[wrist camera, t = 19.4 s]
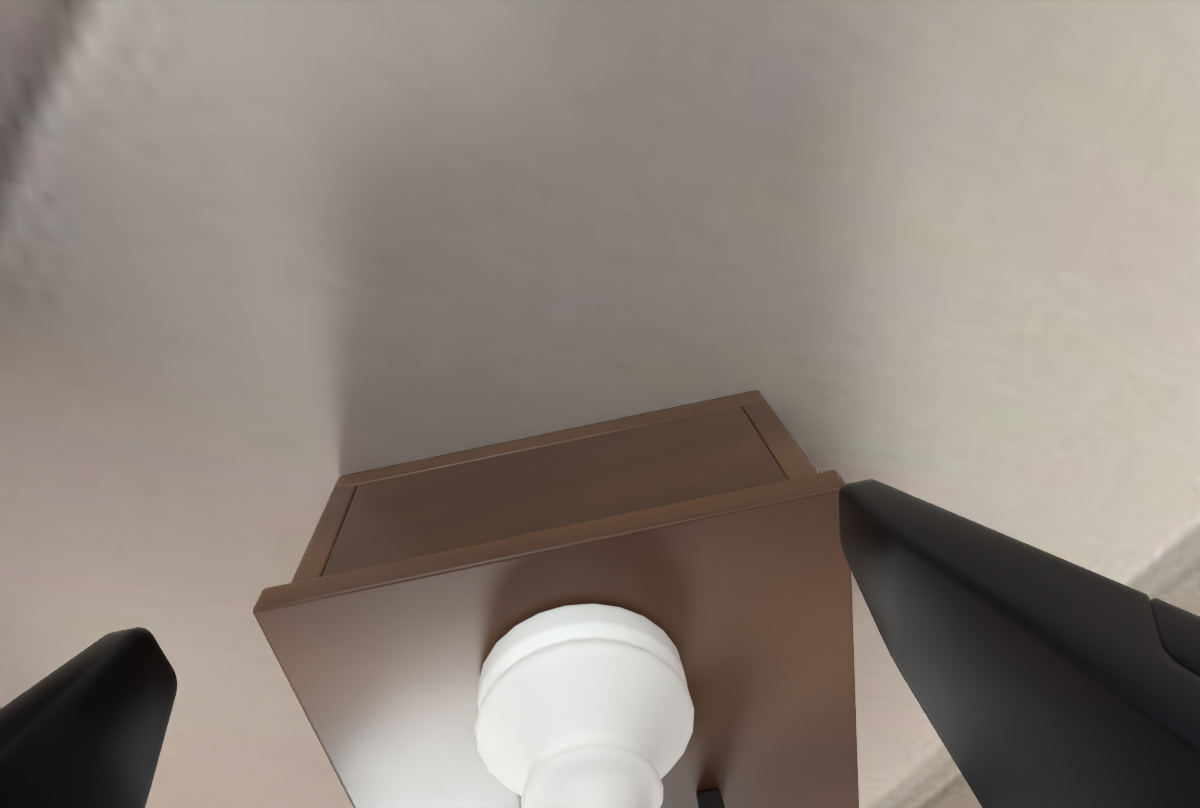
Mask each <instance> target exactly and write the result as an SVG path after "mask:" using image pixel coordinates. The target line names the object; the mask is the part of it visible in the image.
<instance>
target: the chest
mask: <svg viewBox="0 0 1200 808" xmlns="http://www.w3.org/2000/svg"><path fill="white" fill-rule="evenodd" d="M813 474H818V472H817V471H816V469H815V468H814V467H813V465H812V464H811V463H810V461H809V460H808V458H807V457H806V456H805V454H804V453H803V451H802V450H801V449H800V447H799V446H798V445H797V443H796V442H795V440H794V439H793V438H792V436H791V435H790V434H789V432H788V431H787V429H786V428H785V427H784V425H783V424H782V422H781V421H780V420H779V418H778V417H777V416H776V414H775V413H774V411H773V410H772V409H771V407H770V406H769V404H768V403H767V402H766V401H765V399H764V398H763V396H762V395H761V394H760V392H759V391H751V392H746V393H741V394H737V395H732V396H727V397H722V398H717V399H712V400H708V401H703V402H698V403H693V404H688V405H683V406H679V407H674V408H669V409H664V410H659V411H654V412H650V413H645V414H640V415H635V416H630V417H625V418H621V419H616V420H611V421H606V422H601V423H596V424H592V425H587V426H582V427H577V428H572V429H567V430H563V431H558V432H553V433H548V434H543V435H538V436H534V437H529V438H524V439H519V440H514V441H510V442H505V443H500V444H495V445H490V446H485V447H481V448H476V449H471V450H466V451H461V452H456V453H452V454H447V455H442V456H437V457H432V458H427V459H423V460H418V461H413V462H408V463H403V464H398V465H394V466H389V467H384V468H379V469H374V470H369V471H365V472H360V473H355V474H350V475H345V476H341V477H339V478H338V480H337V482H336V485H335V487H334V491H333V492H332V494H331V496H330V498H329V500H328V502H327V505H326V507H325V509H324V511H323V513H322V516H321V518H320V520H319V522H318V524H317V527H316V529H315V531H314V533H313V536H312V538H311V540H310V542H309V544H308V547H307V549H306V551H305V553H304V555H303V558H302V560H301V562H300V564H299V566H298V569H297V571H296V573H295V575H294V578H293V580H292V582H291V583H294V582H299V581H304V580H308V579H313V578H318V577H323V576H328V575H332V574H337V573H342V572H347V571H352V570H356V569H361V568H366V567H371V566H376V565H380V564H385V563H390V562H395V561H400V560H404V559H409V558H414V557H419V556H424V555H428V554H433V553H438V552H443V551H448V550H453V549H457V548H462V547H467V546H472V545H477V544H481V543H486V542H491V541H496V540H501V539H505V538H510V537H515V536H520V535H525V534H529V533H534V532H539V531H544V530H549V529H553V528H558V527H563V526H568V525H573V524H577V523H582V522H587V521H592V520H597V519H601V518H606V517H611V516H616V515H621V514H625V513H630V512H635V511H640V510H645V509H649V508H654V507H659V506H664V505H669V504H673V503H678V502H683V501H688V500H693V499H697V498H702V497H707V496H712V495H717V494H721V493H726V492H731V491H736V490H741V489H746V488H750V487H755V486H760V485H765V484H770V483H774V482H779V481H784V480H789V479H794V478H798V477H803V476H808V475H813Z"/></svg>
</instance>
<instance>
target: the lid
mask: <svg viewBox="0 0 1200 808" xmlns="http://www.w3.org/2000/svg"><path fill="white" fill-rule="evenodd" d="M845 484H846V483H845V482H844V481H843V480H842V478H841V477H840V476H839V474H838V473H837V472H836V471H833V470H832V471H827V472H822V473H818V474H813V475H808V476H803V477H798V478H794V479H789V480H784V481H779V482H774V483H770V484H765V485H760V486H755V487H750V488H746V489H741V490H736V491H731V492H726V493H721V494H717V495H712V496H707V497H702V498H697V499H693V500H688V501H683V502H678V503H673V504H669V505H664V506H659V507H654V508H649V509H645V510H640V511H635V512H630V513H625V514H621V515H616V516H611V517H606V518H601V519H597V520H592V521H587V522H582V523H577V524H573V525H568V526H563V527H558V528H553V529H549V530H544V531H539V532H534V533H529V534H525V535H520V536H515V537H510V538H505V539H501V540H496V541H491V542H486V543H481V544H477V545H472V546H467V547H462V548H457V549H453V550H448V551H443V552H438V553H433V554H428V555H424V556H419V557H414V558H409V559H404V560H400V561H395V562H390V563H385V564H380V565H376V566H371V567H366V568H361V569H356V570H352V571H347V572H342V573H337V574H332V575H328V576H323V577H318V578H313V579H308V580H304V581H299V582H294V583H289V584H284V585H280V586H275V587H270V588H266V589H264V590H263V591H262V593H261V595H260V597H259V599H258V601H257V603H256V605H255V607H254V609H253V613H254V615H255V617H256V619H257V621H258V623H259V625H260V627H261V629H262V631H263V633H264V635H265V637H266V639H267V640H268V642H269V644H270V646H271V648H272V650H273V652H274V654H275V656H276V658H277V660H278V662H279V664H280V666H281V668H282V669H283V671H284V673H285V675H286V677H287V679H288V681H289V683H290V685H291V687H292V689H293V691H294V693H295V695H296V697H297V698H298V700H299V702H300V704H301V706H302V708H303V710H304V712H305V714H306V716H307V718H308V720H309V722H310V724H311V726H312V728H313V729H314V731H315V733H316V735H317V737H318V739H319V741H320V743H321V745H322V747H323V749H324V751H325V753H326V755H327V757H328V758H329V760H330V762H331V764H332V766H333V768H334V770H335V772H336V774H337V776H338V778H339V780H340V782H341V784H342V786H343V787H344V789H345V791H346V793H347V795H348V797H349V799H350V801H351V803H352V805H353V807H354V808H521V801H520V800H521V796H520V795H518V794H516V793H515V792H513V791H511V790H510V789H508V788H506V787H505V786H504V785H503V784H502V783H501V782H499V781H498V780H497V779H496V778H495V777H494V776H493V775H492V774H491V773H490V772H489V771H488V769H487V767H486V766H485V764H484V762H483V760H482V758H481V756H480V754H479V752H478V750H477V743H476V735H475V723H476V719H477V715H478V706H477V694H478V684H479V680H480V676H481V672H482V667H483V664H484V662H485V660H486V659H487V657H488V655H489V654H490V652H491V651H492V649H493V647H494V646H495V644H496V643H497V642H498V641H499V640H500V639H501V638H502V637H503V636H505V635H506V634H507V633H508V632H509V631H510V630H511V629H512V628H513V627H515V626H516V625H518V624H520V623H522V622H523V621H525V620H527V619H529V618H531V617H533V616H535V615H536V614H538V613H541V612H544V611H548V610H551V609H555V608H558V607H562V606H565V605H578V604H592V603H594V604H601V605H608V606H616V607H621V608H624V609H626V610H629V611H632V612H634V613H637V614H639V615H642V616H644V617H646V618H647V619H648V620H650V621H651V622H653V623H654V624H655V625H657V626H658V627H660V628H661V629H662V630H663V631H664V632H665V633H666V634H667V636H668V637H669V638H670V640H671V641H672V642H673V644H674V645H675V646H676V648H677V650H678V653H679V656H680V660H681V663H682V666H683V669H684V673H685V677H686V681H687V687H688V690H689V694H690V697H691V700H692V703H693V706H694V721H693V733H692V735H691V737H690V740H689V742H688V745H687V747H686V749H685V752H684V754H683V755H682V756H681V757H680V759H679V760H678V761H677V762H676V764H675V765H674V766H673V767H672V768H671V770H670V771H669V772H668V773H667V774H666V775H665V776H664V777H663V778H662V779H661V781H662V784H663V803H662V805H661V807H660V808H859V798H858V768H857V737H856V707H855V677H854V647H853V617H852V587H851V568H850V566H849V564H848V562H847V560H846V558H845V555H844V553H843V550H842V546H841V541H840V525H839V491H840V488H841V487H842V486H843V485H845Z"/></svg>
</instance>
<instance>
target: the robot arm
mask: <svg viewBox="0 0 1200 808" xmlns="http://www.w3.org/2000/svg"><path fill="white" fill-rule="evenodd" d="M839 525H840V541H841V546H842V550H843V553H844V555H845V558H846V560H847V562H848V564H849V566H850V568H851V571H852V573H853V575H854V577H855V579H856V582H857V584H858V586H859V588H860V590H861V592H862V595H863V597H864V599H865V601H866V603H867V606H868V608H869V610H870V612H871V614H872V616H873V619H874V621H875V623H876V625H877V627H878V629H879V632H880V634H881V636H882V638H883V640H884V642H885V644H886V646H887V649H888V651H889V653H890V655H891V657H892V658H893V660H894V662H895V664H896V665H897V667H898V669H899V671H900V672H901V674H902V676H903V677H904V679H905V681H906V682H907V684H908V686H909V687H910V689H911V691H912V692H913V694H914V696H915V697H916V699H917V701H918V702H919V704H920V705H921V707H922V709H923V710H924V712H925V714H926V715H927V717H928V719H929V720H930V722H931V724H932V725H933V727H934V729H935V730H936V732H937V733H938V735H939V737H940V738H941V740H942V742H943V743H944V745H945V747H946V748H947V750H948V752H949V753H950V755H951V757H952V758H953V760H954V762H955V763H956V765H957V766H958V768H959V770H960V771H961V773H962V775H963V776H964V778H965V780H966V781H967V783H968V785H969V786H970V788H971V790H972V791H973V793H974V795H975V796H976V798H977V799H978V801H979V803H980V804H981V806H982V808H1200V616H1197V615H1195V614H1192V613H1190V612H1187V611H1185V610H1183V609H1180V608H1178V607H1176V606H1173V605H1171V604H1168V603H1166V602H1164V601H1161V600H1159V599H1156V598H1153V599H1151V600H1149V597H1148V596H1147V595H1146V594H1144V593H1142V592H1139V591H1137V590H1135V589H1132V588H1130V587H1128V586H1125V585H1123V584H1120V583H1118V582H1116V581H1113V580H1111V579H1109V578H1106V577H1104V576H1101V575H1099V574H1097V573H1094V572H1092V571H1090V570H1087V569H1085V568H1083V567H1080V566H1078V565H1075V564H1073V563H1071V562H1068V561H1066V560H1064V559H1061V558H1059V557H1056V556H1054V555H1052V554H1049V553H1047V552H1045V551H1042V550H1040V549H1037V548H1035V547H1033V546H1030V545H1028V544H1026V543H1023V542H1021V541H1018V540H1016V539H1014V538H1011V537H1009V536H1007V535H1004V534H1002V533H999V532H997V531H995V530H992V529H990V528H988V527H985V526H983V525H980V524H978V523H976V522H973V521H971V520H969V519H966V518H964V517H961V516H959V515H957V514H954V513H952V512H950V511H947V510H945V509H942V508H940V507H938V506H935V505H933V504H931V503H928V502H926V501H923V500H921V499H919V498H916V497H914V496H912V495H909V494H907V493H904V492H902V491H900V490H897V489H895V488H893V487H890V486H888V485H885V484H883V483H881V482H878V481H876V480H871V479H868V480H863V481H858V482H854V483H849V484H845V485H843V486H842V487H841V488H840V491H839ZM176 691H177V678H176V675H175V672H174V670H173V668H172V666H171V665H170V663H169V661H168V660H167V658H166V656H165V655H164V653H163V651H162V650H161V648H160V646H159V645H158V643H157V641H156V640H155V638H154V636H153V635H152V634H151V632H150V631H148V630H147V629H145V628H140V627H137V628H132V629H127V630H122V631H117V632H112V633H110V634H107V635H105V636H104V637H102V638H101V639H99V640H98V641H97V642H95V643H94V644H92V645H91V646H89V647H88V648H87V649H85V650H84V651H82V652H81V653H80V654H78V655H77V656H75V657H74V658H72V659H71V660H70V661H68V662H67V663H65V664H64V665H62V666H61V667H60V668H58V669H57V670H55V671H54V672H53V673H51V674H50V675H48V676H47V677H45V678H44V679H43V680H41V681H40V682H38V683H37V684H36V685H34V686H33V687H31V688H30V689H28V690H27V691H26V692H24V693H23V694H21V695H20V696H18V697H17V698H16V699H14V700H13V701H11V702H10V703H9V704H7V705H6V706H4V707H3V708H1V709H0V808H145V805H146V802H147V798H148V795H149V792H150V788H151V785H152V781H153V777H154V773H155V770H156V766H157V762H158V759H159V755H160V751H161V748H162V744H163V740H164V736H165V733H166V729H167V725H168V722H169V718H170V714H171V710H172V707H173V703H174V699H175V696H176Z"/></svg>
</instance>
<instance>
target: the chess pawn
mask: <svg viewBox="0 0 1200 808" xmlns="http://www.w3.org/2000/svg"><path fill="white" fill-rule="evenodd" d="M477 706H478V715H477V719H476V723H475V735H476V743H477V750H478V752H479V754H480V756H481V758H482V760H483V762H484V764H485V766H486V767H487V769H488V771H489V772H490V773H491V774H492V775H493V776H494V777H495V778H496V779H497V780H498V781H499V782H501V783H502V784H503V785H504V786H505V787H506V788H508V789H510V790H511V791H513V792H515V793H516V794H518V795H520V796H521V800H520V801H521V808H660V807H661V805H662V803H663V784H662V781H661V779H662V778H663V777H664V776H665V775H666V774H667V773H668V772H669V771H670V770H671V768H672V767H673V766H674V765H675V764H676V762H677V761H678V760H679V759H680V757H681V756H682V755H683V754H684V752H685V749H686V747H687V745H688V742H689V740H690V737H691V735H692V733H693V721H694V706H693V703H692V700H691V697H690V694H689V690H688V687H687V681H686V677H685V673H684V669H683V666H682V663H681V660H680V656H679V653H678V650H677V648H676V646H675V645H674V644H673V642H672V641H671V640H670V638H669V637H668V636H667V634H666V633H665V632H664V631H663V630H662V629H661V628H660V627H658V626H657V625H655V624H654V623H653V622H651V621H650V620H648V619H647V618H646V617H644V616H642V615H639V614H637V613H634V612H632V611H629V610H626V609H624V608H621V607H616V606H608V605H601V604H594V603H592V604H578V605H565V606H562V607H558V608H555V609H551V610H548V611H544V612H541V613H538V614H536V615H535V616H533V617H531V618H529V619H527V620H525V621H523V622H522V623H520V624H518V625H516V626H515V627H513V628H512V629H511V630H510V631H509V632H508V633H507V634H506V635H505V636H503V637H502V638H501V639H500V640H499V641H498V642H497V643H496V644H495V646H494V647H493V649H492V651H491V652H490V654H489V655H488V657H487V659H486V660H485V662H484V664H483V667H482V672H481V676H480V680H479V684H478V694H477Z"/></svg>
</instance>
